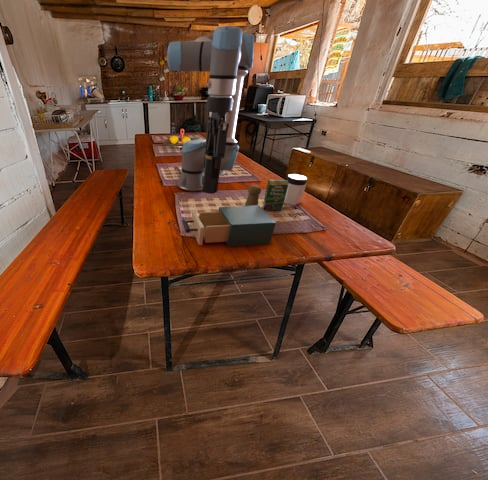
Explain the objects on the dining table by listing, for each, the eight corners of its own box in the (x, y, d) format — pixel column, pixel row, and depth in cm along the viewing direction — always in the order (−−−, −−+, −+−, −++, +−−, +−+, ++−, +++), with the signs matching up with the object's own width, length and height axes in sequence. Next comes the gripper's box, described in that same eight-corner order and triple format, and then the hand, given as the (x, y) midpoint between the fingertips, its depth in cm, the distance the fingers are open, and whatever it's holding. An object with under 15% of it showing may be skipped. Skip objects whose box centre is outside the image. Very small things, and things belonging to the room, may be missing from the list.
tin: (200, 188, 91) (203, 152, 85) (214, 187, 92) (219, 152, 85) (204, 194, 87) (208, 156, 80) (219, 193, 88) (224, 156, 81)
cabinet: (227, 246, 88) (231, 224, 83) (216, 227, 99) (218, 206, 95) (270, 243, 90) (276, 222, 85) (253, 225, 101) (258, 205, 97)
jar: (292, 206, 117) (300, 181, 110) (277, 200, 122) (283, 176, 116) (303, 202, 121) (311, 177, 114) (288, 196, 127) (295, 172, 120)
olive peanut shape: (255, 214, 109) (260, 190, 103) (241, 210, 112) (246, 186, 106) (259, 209, 114) (264, 185, 108) (245, 205, 116) (250, 182, 110)
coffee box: (262, 209, 113) (269, 181, 106) (261, 206, 116) (268, 178, 109) (281, 211, 112) (289, 182, 105) (280, 208, 115) (288, 180, 108)
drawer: (186, 246, 86) (187, 228, 83) (180, 227, 96) (181, 211, 93) (239, 242, 89) (242, 225, 85) (227, 225, 99) (230, 209, 95)
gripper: (200, 93, 81) (194, 166, 94) (217, 99, 66) (208, 185, 78) (222, 94, 82) (214, 166, 95) (245, 99, 67) (231, 184, 79)
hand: (211, 174), depth 86 cm, fingers closed on tin, 5 cm apart
